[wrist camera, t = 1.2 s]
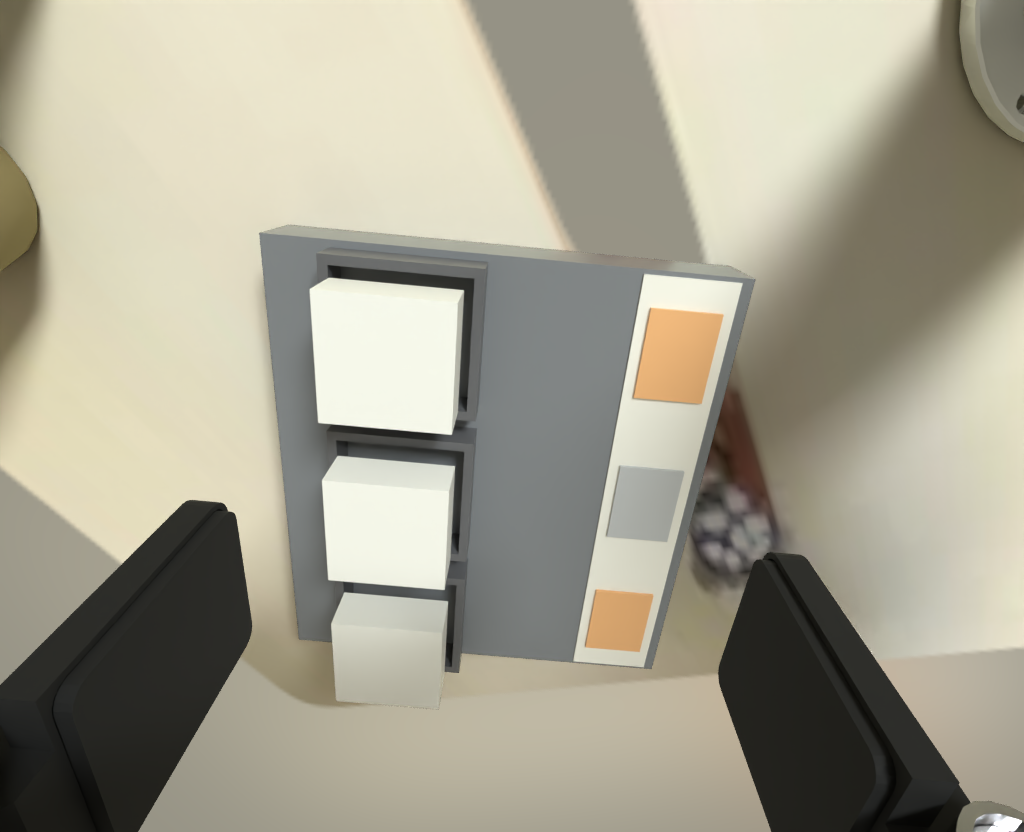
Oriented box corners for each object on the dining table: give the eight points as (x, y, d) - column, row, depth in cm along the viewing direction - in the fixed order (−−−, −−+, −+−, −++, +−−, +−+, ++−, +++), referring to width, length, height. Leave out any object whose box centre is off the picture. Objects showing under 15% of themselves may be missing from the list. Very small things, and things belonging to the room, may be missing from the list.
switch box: (730, 266, 25) (771, 287, 21) (641, 628, 34) (657, 693, 30) (288, 224, 25) (240, 237, 21) (317, 601, 34) (287, 662, 30)
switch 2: (454, 466, 24) (449, 491, 22) (450, 559, 26) (444, 590, 24) (337, 455, 24) (321, 480, 22) (342, 550, 26) (328, 580, 24)
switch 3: (448, 601, 27) (442, 633, 25) (444, 675, 29) (438, 709, 27) (344, 592, 27) (330, 623, 25) (348, 666, 29) (335, 701, 27)
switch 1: (464, 290, 21) (458, 302, 19) (457, 412, 23) (451, 434, 21) (328, 277, 21) (309, 289, 19) (335, 401, 23) (318, 422, 21)
